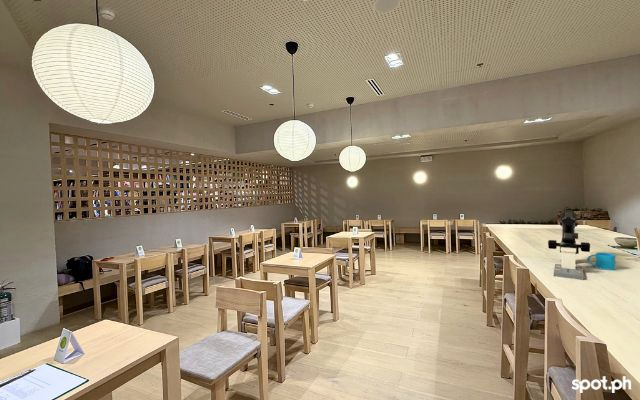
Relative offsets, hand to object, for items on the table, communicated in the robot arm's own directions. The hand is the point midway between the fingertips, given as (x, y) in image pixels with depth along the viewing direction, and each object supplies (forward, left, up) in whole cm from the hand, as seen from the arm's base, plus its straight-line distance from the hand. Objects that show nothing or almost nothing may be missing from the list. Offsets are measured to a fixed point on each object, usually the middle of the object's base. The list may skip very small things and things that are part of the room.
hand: (568, 257), depth 167 cm
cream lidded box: (+2, 0, -6) cm, 6 cm away
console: (+5, -1, -8) cm, 9 cm away
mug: (-15, +19, -8) cm, 26 cm away
